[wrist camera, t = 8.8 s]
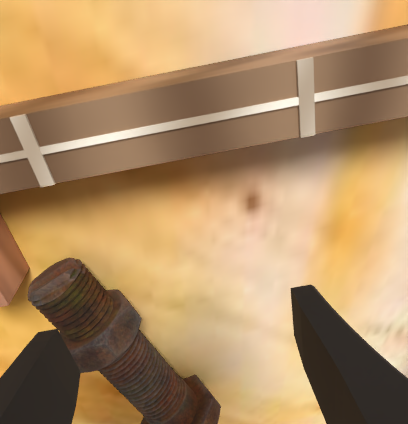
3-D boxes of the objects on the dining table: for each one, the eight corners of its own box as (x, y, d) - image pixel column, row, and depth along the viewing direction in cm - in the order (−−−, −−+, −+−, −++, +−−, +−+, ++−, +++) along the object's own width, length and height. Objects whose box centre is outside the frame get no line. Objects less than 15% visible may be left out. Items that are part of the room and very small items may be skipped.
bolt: (79, 231, 23) (194, 373, 29) (6, 285, 21) (144, 422, 28) (102, 260, 18) (235, 424, 24) (8, 334, 16) (176, 486, 23)
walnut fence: (490, 8, 16) (554, 9, 13) (456, 190, 20) (498, 219, 18) (-94, 124, 17) (-146, 148, 14) (-4, 274, 21) (-31, 313, 19)
